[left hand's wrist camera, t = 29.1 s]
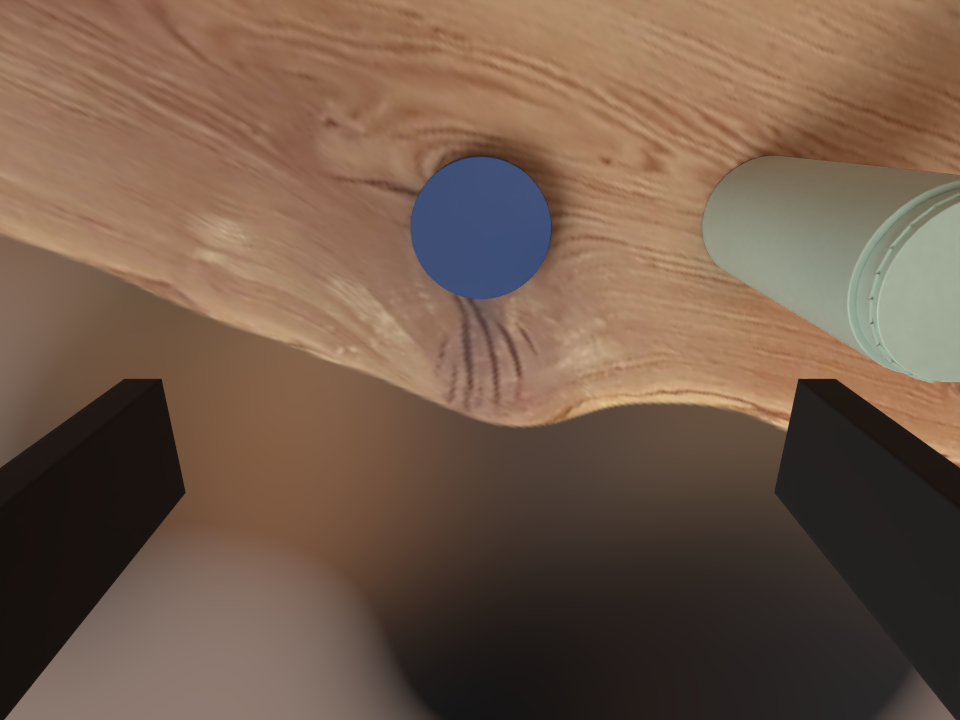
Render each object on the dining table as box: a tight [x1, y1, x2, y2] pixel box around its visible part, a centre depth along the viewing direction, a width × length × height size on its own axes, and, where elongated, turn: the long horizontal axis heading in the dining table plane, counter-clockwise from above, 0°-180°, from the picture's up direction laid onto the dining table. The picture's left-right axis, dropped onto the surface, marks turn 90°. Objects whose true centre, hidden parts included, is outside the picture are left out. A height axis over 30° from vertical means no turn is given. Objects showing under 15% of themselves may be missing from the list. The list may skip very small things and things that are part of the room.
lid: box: [411, 155, 551, 299], centre depth 39 cm, size 9×9×2 cm
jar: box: [702, 156, 960, 383], centre depth 31 cm, size 8×8×18 cm
